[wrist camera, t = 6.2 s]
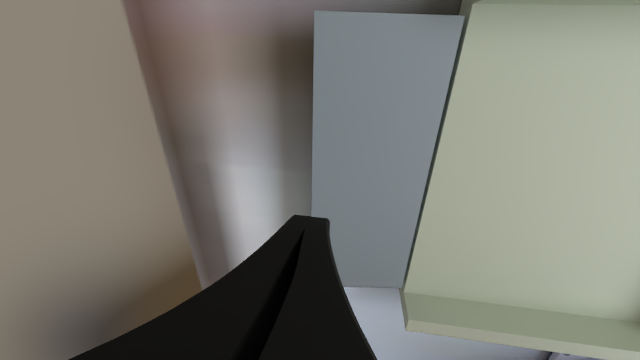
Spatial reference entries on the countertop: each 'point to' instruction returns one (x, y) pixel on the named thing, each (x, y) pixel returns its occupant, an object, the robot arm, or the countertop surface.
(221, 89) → the countertop surface
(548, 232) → the tray
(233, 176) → the countertop surface
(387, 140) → the panel
